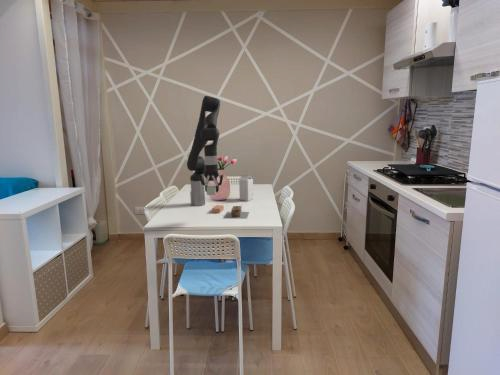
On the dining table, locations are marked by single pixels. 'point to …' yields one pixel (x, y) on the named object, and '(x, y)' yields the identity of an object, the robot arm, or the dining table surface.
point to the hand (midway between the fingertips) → (212, 192)
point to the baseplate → (243, 216)
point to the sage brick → (211, 189)
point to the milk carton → (246, 187)
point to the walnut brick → (236, 211)
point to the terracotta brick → (217, 209)
